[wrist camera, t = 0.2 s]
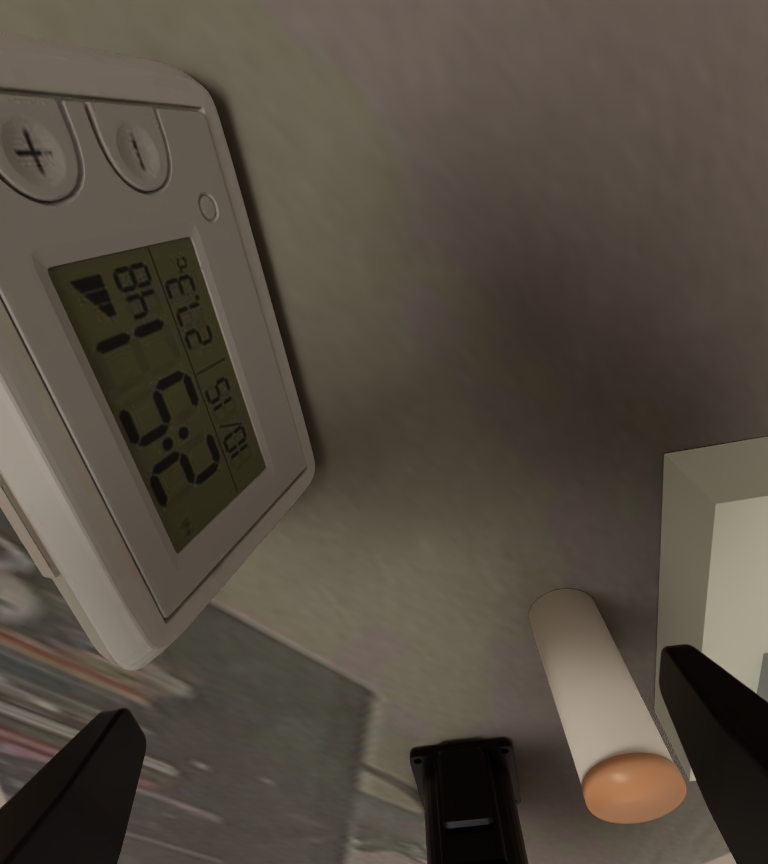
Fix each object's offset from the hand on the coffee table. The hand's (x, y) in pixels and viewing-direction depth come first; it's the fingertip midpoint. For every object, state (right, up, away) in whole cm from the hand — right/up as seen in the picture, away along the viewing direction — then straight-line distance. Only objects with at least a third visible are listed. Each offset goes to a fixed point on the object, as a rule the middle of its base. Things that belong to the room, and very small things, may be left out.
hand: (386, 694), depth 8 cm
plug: (+10, -5, +19) cm, 22 cm away
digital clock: (-7, +9, +12) cm, 17 cm away
